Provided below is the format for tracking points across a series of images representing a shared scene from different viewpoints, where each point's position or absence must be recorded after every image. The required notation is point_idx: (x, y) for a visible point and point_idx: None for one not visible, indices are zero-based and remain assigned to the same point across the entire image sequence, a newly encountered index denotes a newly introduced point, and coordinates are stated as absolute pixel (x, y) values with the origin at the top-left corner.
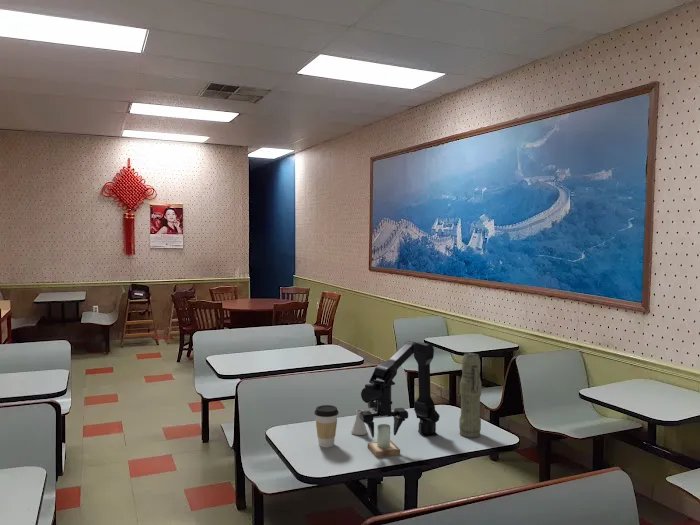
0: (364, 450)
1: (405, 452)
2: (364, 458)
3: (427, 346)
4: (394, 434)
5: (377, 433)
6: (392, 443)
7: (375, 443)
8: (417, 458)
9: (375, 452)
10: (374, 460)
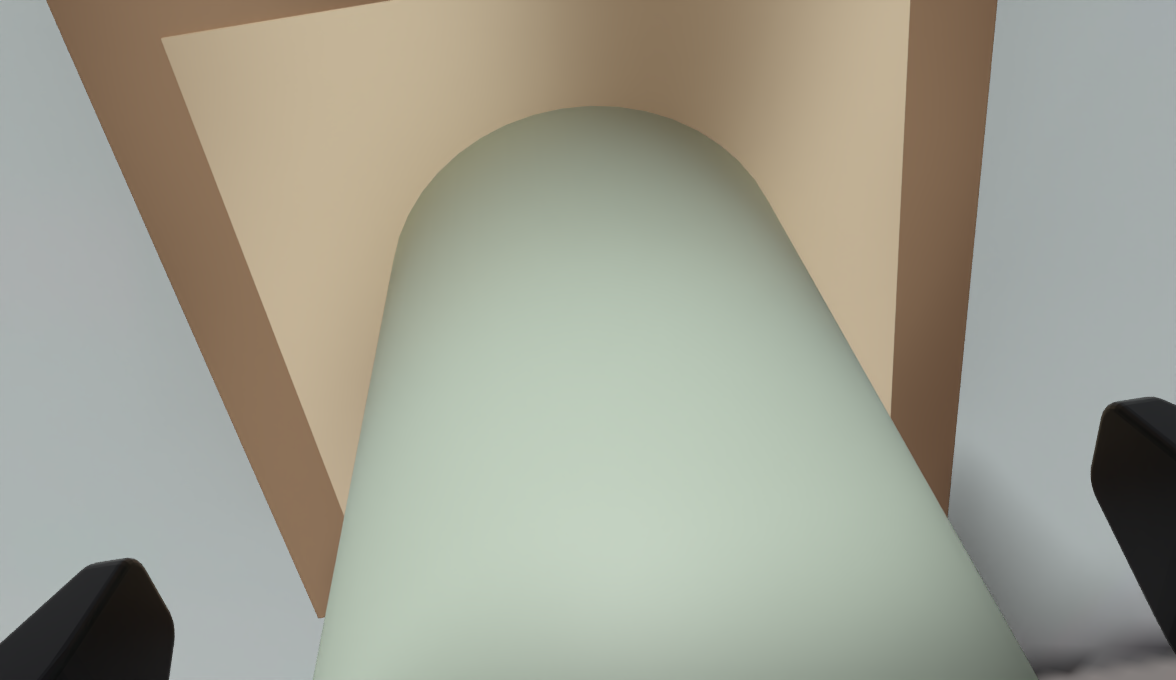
0: (15, 118)
1: (1076, 342)
2: (75, 549)
3: None
4: (1108, 500)
5: (336, 561)
6: (936, 119)
7: (344, 59)
8: (1135, 595)
9: (311, 583)
10: (298, 629)
